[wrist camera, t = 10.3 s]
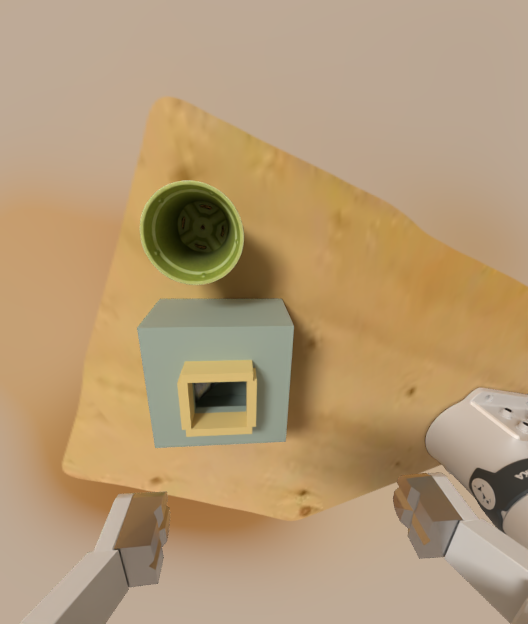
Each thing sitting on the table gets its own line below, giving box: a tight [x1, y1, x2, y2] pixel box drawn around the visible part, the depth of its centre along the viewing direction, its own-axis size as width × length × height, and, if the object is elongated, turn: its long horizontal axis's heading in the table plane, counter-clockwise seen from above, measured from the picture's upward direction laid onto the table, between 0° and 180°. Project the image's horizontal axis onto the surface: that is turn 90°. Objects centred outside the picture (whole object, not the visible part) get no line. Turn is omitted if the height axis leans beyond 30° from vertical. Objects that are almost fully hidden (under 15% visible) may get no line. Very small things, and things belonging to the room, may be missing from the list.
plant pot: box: [140, 180, 244, 285], centre depth 30 cm, size 9×9×9 cm
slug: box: [194, 382, 219, 403], centre depth 36 cm, size 4×4×6 cm
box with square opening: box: [137, 299, 294, 448], centre depth 35 cm, size 16×16×12 cm
